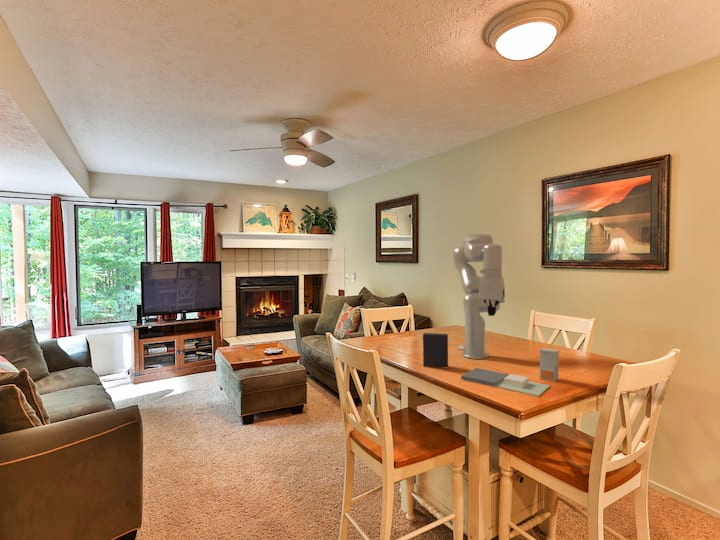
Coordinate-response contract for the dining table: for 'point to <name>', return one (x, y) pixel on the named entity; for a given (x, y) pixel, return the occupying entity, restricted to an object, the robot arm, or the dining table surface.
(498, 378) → the board
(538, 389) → the mat
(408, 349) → the dining table surface
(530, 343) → the dining table surface
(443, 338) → the black rectangular block
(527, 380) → the coaster tile
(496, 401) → the dining table surface
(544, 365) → the skincare box
